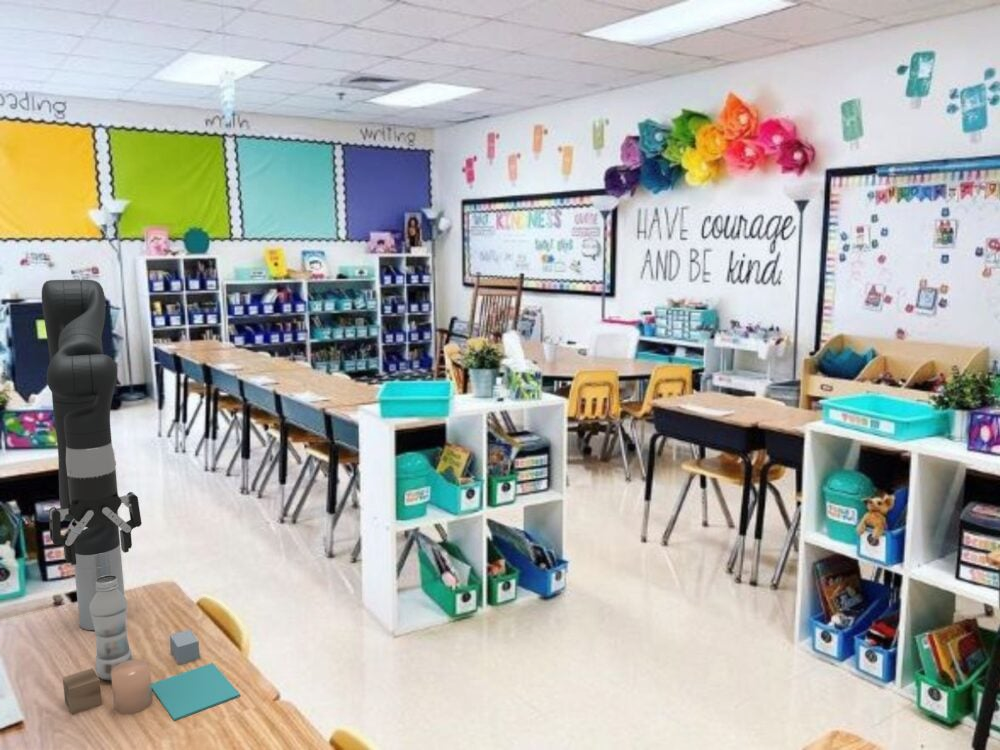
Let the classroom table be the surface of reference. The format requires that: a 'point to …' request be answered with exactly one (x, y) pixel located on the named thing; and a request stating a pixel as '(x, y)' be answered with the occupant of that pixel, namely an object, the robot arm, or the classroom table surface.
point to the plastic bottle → (109, 626)
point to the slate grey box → (184, 646)
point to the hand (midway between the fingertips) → (99, 557)
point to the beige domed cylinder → (131, 686)
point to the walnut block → (82, 691)
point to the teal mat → (194, 691)
